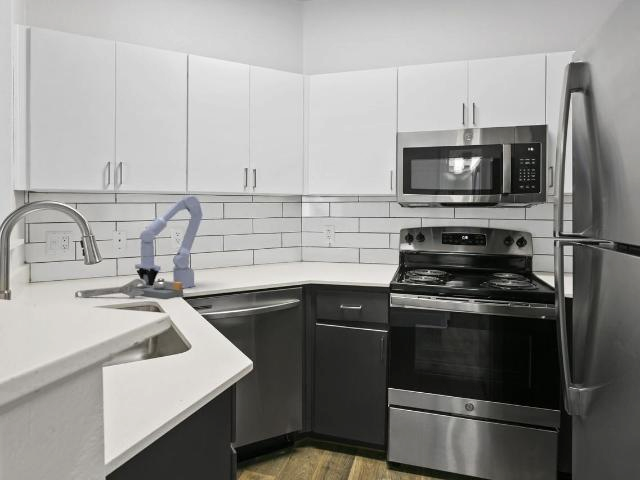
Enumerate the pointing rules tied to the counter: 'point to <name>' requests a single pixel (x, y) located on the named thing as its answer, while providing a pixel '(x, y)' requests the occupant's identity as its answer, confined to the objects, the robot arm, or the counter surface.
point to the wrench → (115, 290)
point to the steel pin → (146, 279)
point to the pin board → (159, 292)
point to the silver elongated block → (167, 285)
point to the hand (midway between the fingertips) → (147, 285)
